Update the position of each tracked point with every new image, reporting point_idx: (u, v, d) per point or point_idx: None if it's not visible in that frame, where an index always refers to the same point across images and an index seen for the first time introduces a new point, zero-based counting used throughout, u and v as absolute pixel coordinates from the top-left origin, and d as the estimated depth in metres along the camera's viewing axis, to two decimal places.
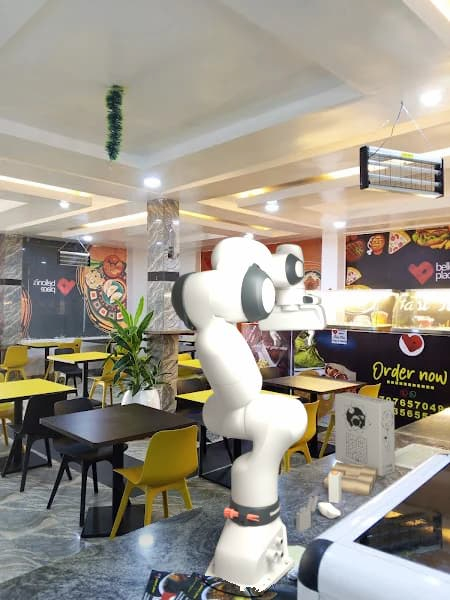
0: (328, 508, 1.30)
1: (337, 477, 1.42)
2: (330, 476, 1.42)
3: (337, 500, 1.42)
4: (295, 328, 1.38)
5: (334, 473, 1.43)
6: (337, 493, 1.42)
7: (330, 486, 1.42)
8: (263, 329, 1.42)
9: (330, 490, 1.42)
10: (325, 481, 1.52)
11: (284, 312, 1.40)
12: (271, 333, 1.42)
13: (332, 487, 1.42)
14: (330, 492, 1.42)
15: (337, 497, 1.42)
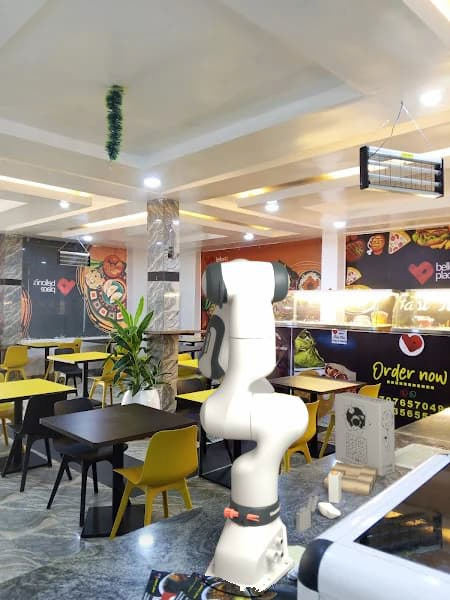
0: (328, 508, 1.30)
1: (337, 477, 1.42)
2: (330, 476, 1.42)
3: (337, 500, 1.42)
4: None
5: (334, 473, 1.43)
6: (337, 493, 1.42)
7: (330, 486, 1.42)
8: None
9: (330, 490, 1.42)
10: (325, 481, 1.52)
11: (252, 385, 1.54)
12: None
13: (332, 487, 1.42)
14: (330, 492, 1.42)
15: (337, 497, 1.42)
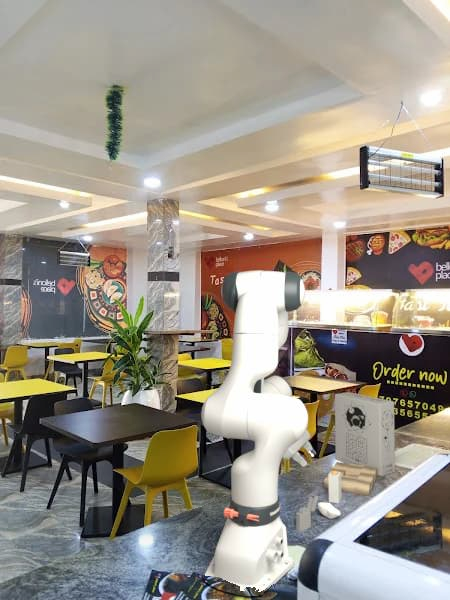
0: (328, 508, 1.30)
1: (337, 477, 1.42)
2: (330, 476, 1.42)
3: (337, 500, 1.42)
4: (303, 442, 1.50)
5: (334, 473, 1.43)
6: (337, 493, 1.42)
7: (330, 486, 1.42)
8: (294, 451, 1.41)
9: (330, 490, 1.42)
10: (325, 481, 1.52)
11: None
12: (298, 454, 1.43)
13: (332, 487, 1.42)
14: (330, 492, 1.42)
15: (337, 497, 1.42)
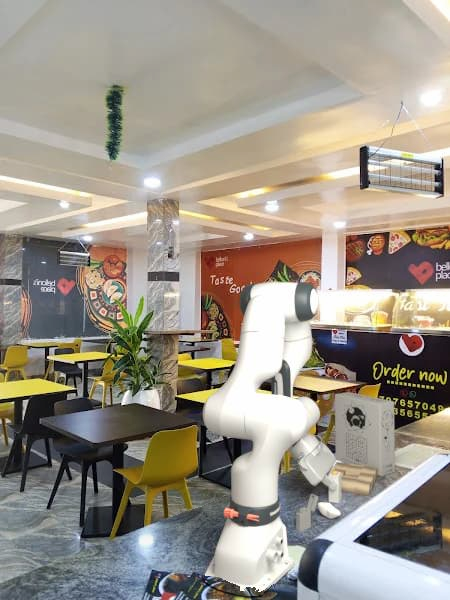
0: (328, 508, 1.30)
1: (337, 477, 1.42)
2: (330, 476, 1.42)
3: (337, 500, 1.42)
4: (330, 466, 1.46)
5: (334, 473, 1.43)
6: (337, 493, 1.42)
7: None
8: (322, 477, 1.37)
9: (330, 490, 1.42)
10: None
11: (316, 457, 1.45)
12: (327, 477, 1.41)
13: None
14: (330, 492, 1.42)
15: (337, 497, 1.42)
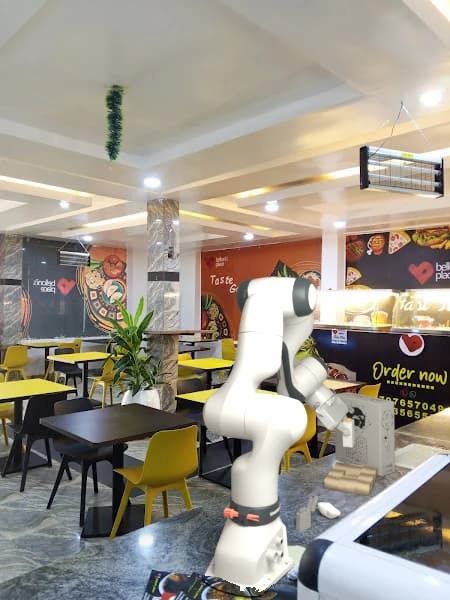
0: (328, 508, 1.30)
1: (351, 423, 1.53)
2: (344, 423, 1.54)
3: (351, 444, 1.53)
4: (343, 414, 1.58)
5: (348, 420, 1.55)
6: (351, 438, 1.53)
7: None
8: (337, 422, 1.49)
9: (344, 436, 1.54)
10: (325, 481, 1.52)
11: (331, 406, 1.56)
12: (341, 423, 1.52)
13: None
14: (344, 437, 1.54)
15: (351, 442, 1.53)
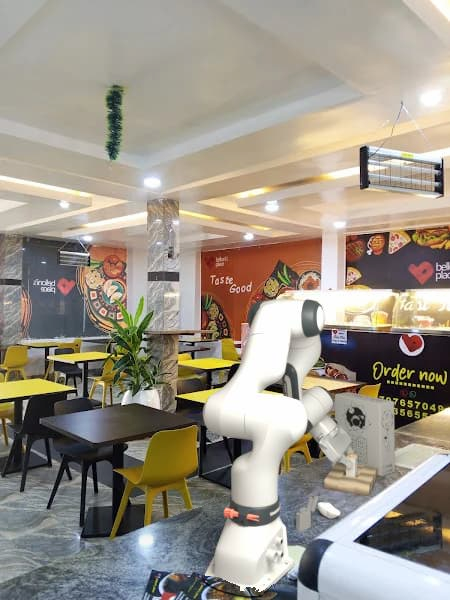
0: (328, 508, 1.30)
1: (354, 459, 1.55)
2: None
3: None
4: (347, 446, 1.60)
5: (351, 456, 1.57)
6: (354, 474, 1.55)
7: (347, 468, 1.56)
8: (340, 455, 1.51)
9: (347, 471, 1.56)
10: (325, 481, 1.52)
11: (334, 437, 1.58)
12: (344, 456, 1.53)
13: (349, 468, 1.56)
14: (347, 473, 1.56)
15: None
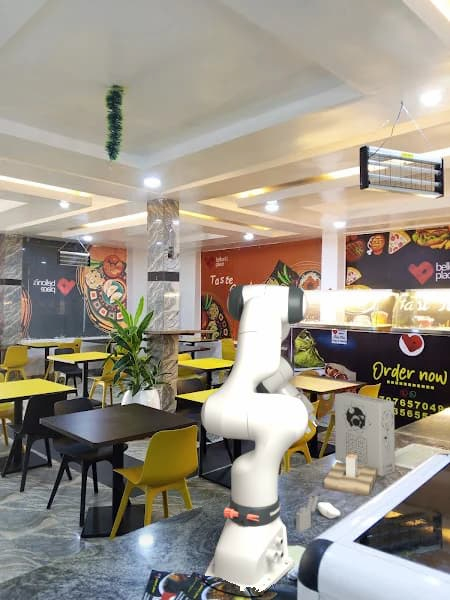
0: (328, 508, 1.30)
1: (354, 459, 1.55)
2: (347, 459, 1.56)
3: None
4: (308, 412, 1.65)
5: (351, 456, 1.57)
6: (354, 474, 1.55)
7: (347, 468, 1.56)
8: None
9: (347, 471, 1.56)
10: (325, 481, 1.52)
11: None
12: None
13: (349, 468, 1.56)
14: (347, 473, 1.56)
15: None
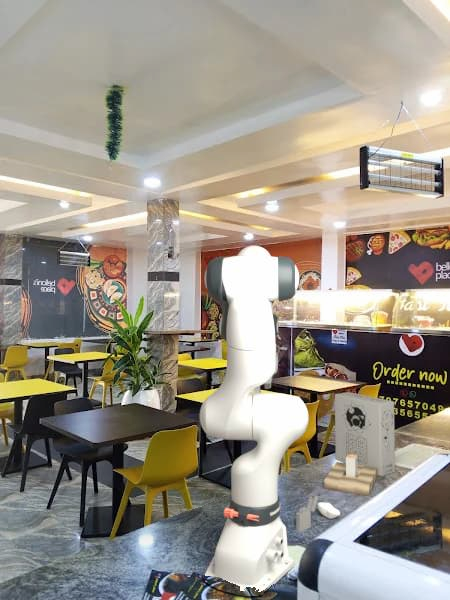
0: (328, 508, 1.30)
1: (354, 459, 1.55)
2: (347, 459, 1.56)
3: None
4: None
5: (351, 456, 1.57)
6: (354, 474, 1.55)
7: (347, 468, 1.56)
8: None
9: (347, 471, 1.56)
10: (325, 481, 1.52)
11: None
12: None
13: (349, 468, 1.56)
14: (347, 473, 1.56)
15: None
